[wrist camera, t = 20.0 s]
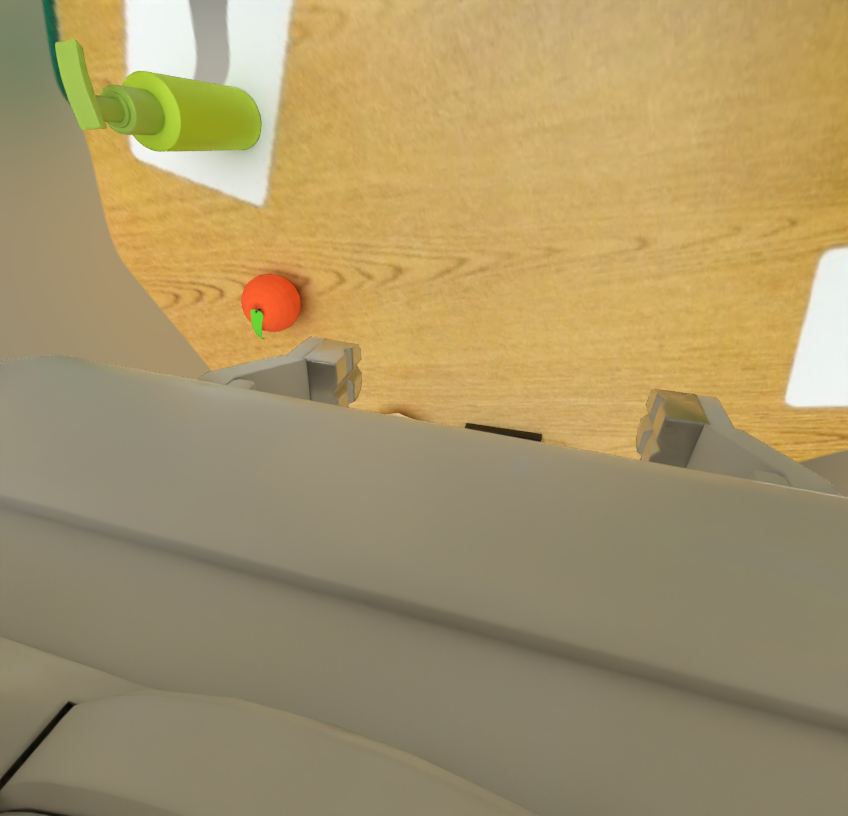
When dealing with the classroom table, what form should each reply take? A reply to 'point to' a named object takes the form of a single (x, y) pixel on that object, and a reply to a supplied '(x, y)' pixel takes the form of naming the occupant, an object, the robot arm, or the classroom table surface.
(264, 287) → the clementine
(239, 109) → the soap dispenser
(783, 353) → the classroom table surface
